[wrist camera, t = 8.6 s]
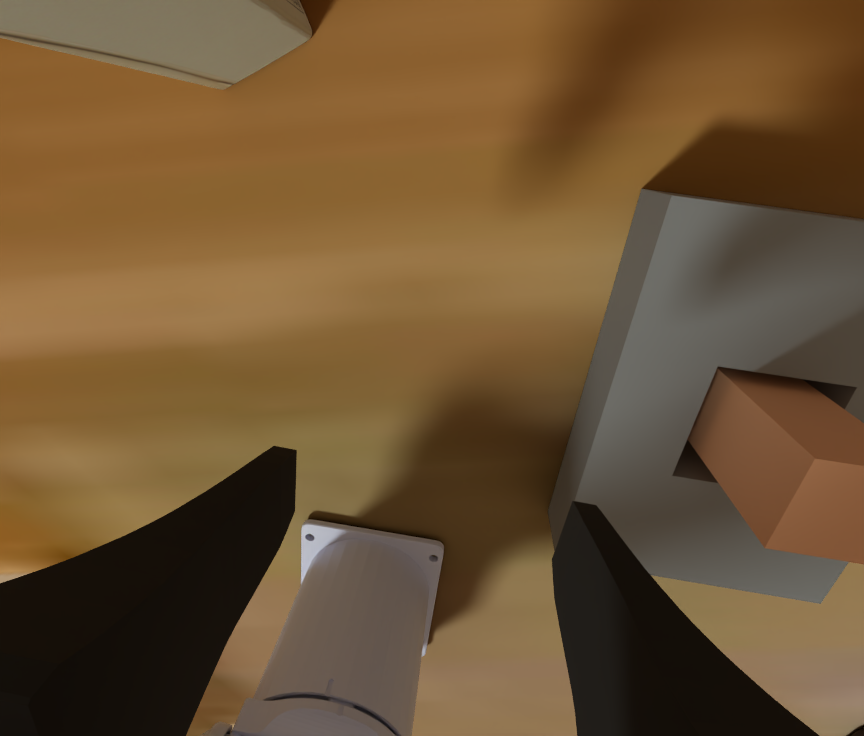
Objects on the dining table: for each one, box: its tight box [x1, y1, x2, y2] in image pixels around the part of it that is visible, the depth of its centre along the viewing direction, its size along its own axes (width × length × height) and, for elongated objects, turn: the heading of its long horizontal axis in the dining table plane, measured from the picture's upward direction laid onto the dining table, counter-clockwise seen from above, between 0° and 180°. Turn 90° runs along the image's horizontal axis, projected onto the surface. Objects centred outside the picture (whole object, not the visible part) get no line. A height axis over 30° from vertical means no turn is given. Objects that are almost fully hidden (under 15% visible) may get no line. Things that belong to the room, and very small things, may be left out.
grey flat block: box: [548, 189, 864, 604], centre depth 20 cm, size 16×12×3 cm
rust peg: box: [688, 366, 864, 564], centre depth 18 cm, size 3×3×8 cm
